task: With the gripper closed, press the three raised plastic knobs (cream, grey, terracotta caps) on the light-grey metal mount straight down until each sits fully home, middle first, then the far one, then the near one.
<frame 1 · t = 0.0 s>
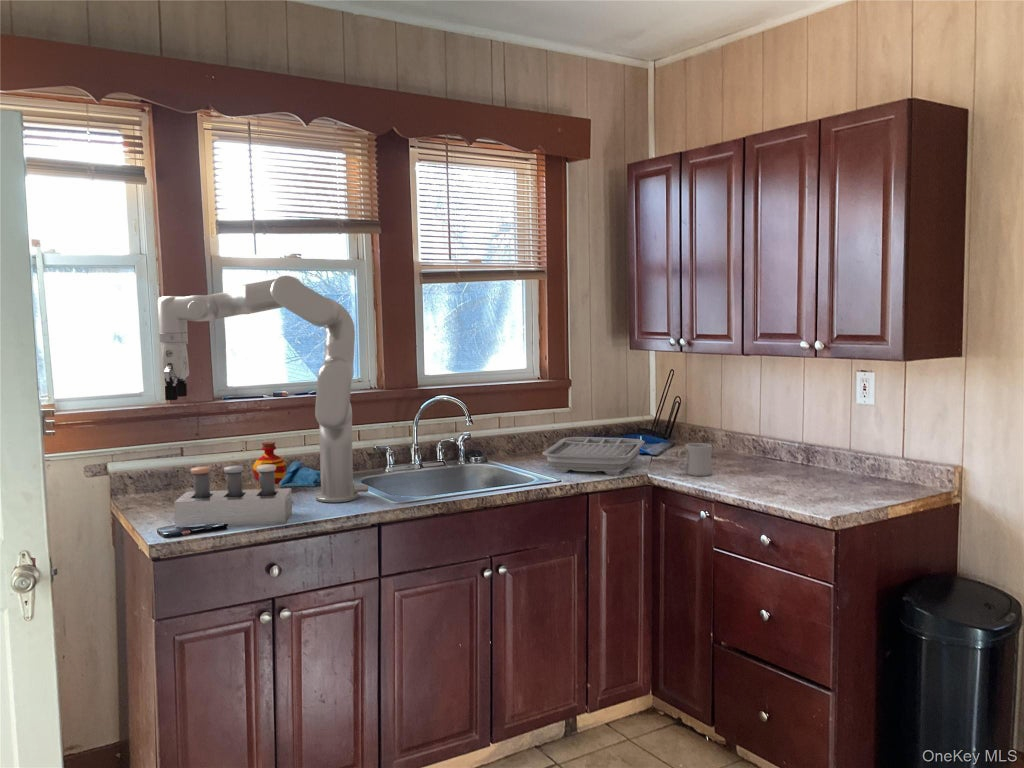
hand: (176, 398, 237), 31 cm above the worktop, fingers open, 9 cm apart
potion bottle: (270, 490, 258), on the worktop
mount: (235, 520, 221), on the worktop
dish rack: (594, 467, 292), on the worktop
knob near: (266, 480, 221), point 11 cm above the worktop, slide at 0.0 cm
knob far: (201, 483, 219), point 11 cm above the worktop, slide at 0.0 cm
mug: (694, 474, 276), on the worktop
bread roll: (267, 504, 240), on the worktop
knob mid: (234, 481, 220), point 11 cm above the worktop, slide at 0.0 cm
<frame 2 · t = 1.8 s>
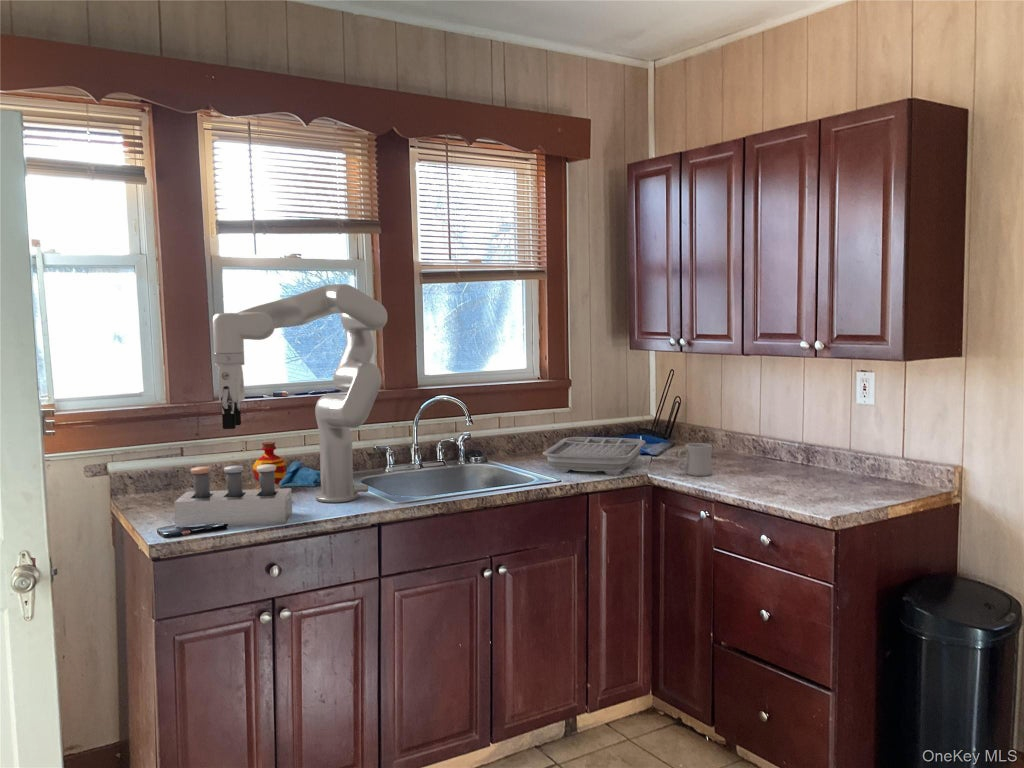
hand: (232, 426, 218), 26 cm above the worktop, fingers open, 6 cm apart
nothing on the worktop moved.
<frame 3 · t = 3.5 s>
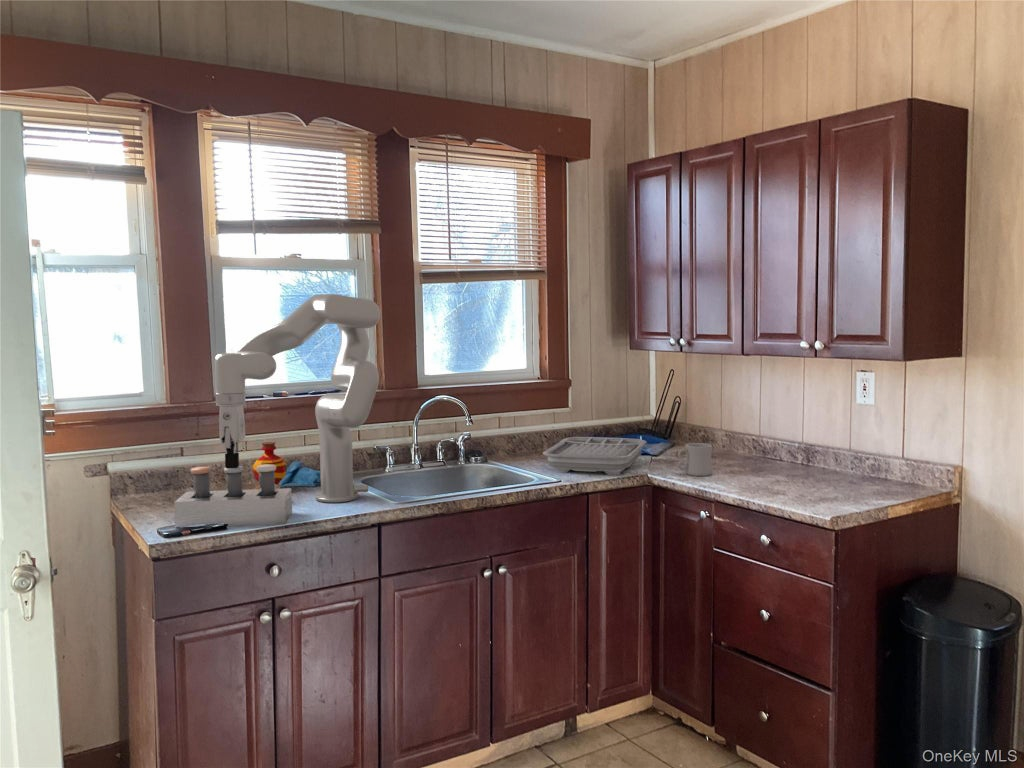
hand: (232, 467, 219), 14 cm above the worktop, fingers closed
knob mid: (234, 482, 220), point 10 cm above the worktop, slide at 0.0 cm, touching gripper
everything else where it was.
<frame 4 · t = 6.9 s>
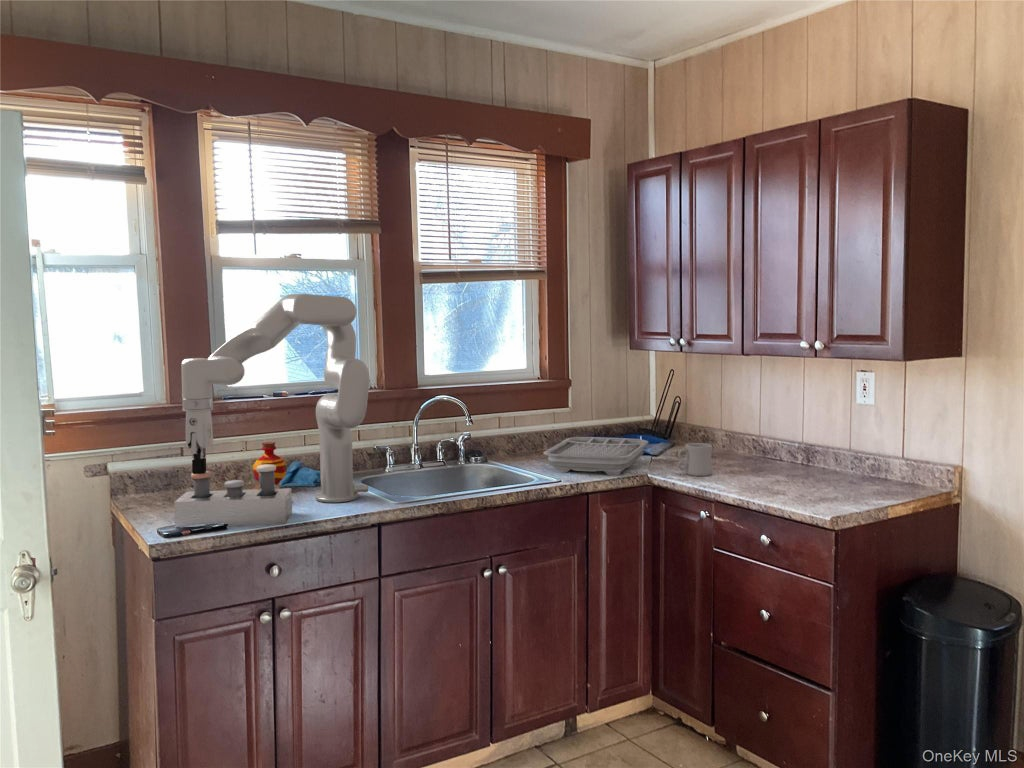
hand: (199, 473, 218), 13 cm above the worktop, fingers closed
knob far: (201, 487, 219), point 9 cm above the worktop, slide at 1.3 cm, touching gripper
knob mid: (234, 496, 220), point 7 cm above the worktop, slide at 4.0 cm
everything else where it was.
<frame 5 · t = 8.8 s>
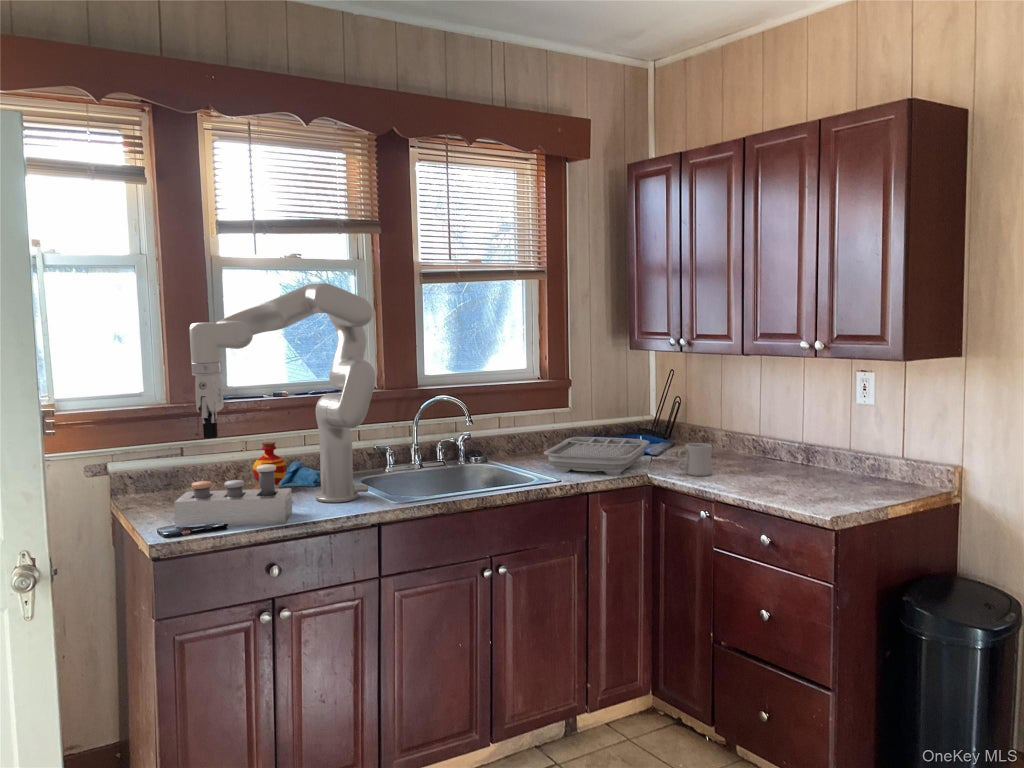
hand: (210, 437, 218), 23 cm above the worktop, fingers closed
knob far: (202, 497, 219), point 7 cm above the worktop, slide at 4.0 cm
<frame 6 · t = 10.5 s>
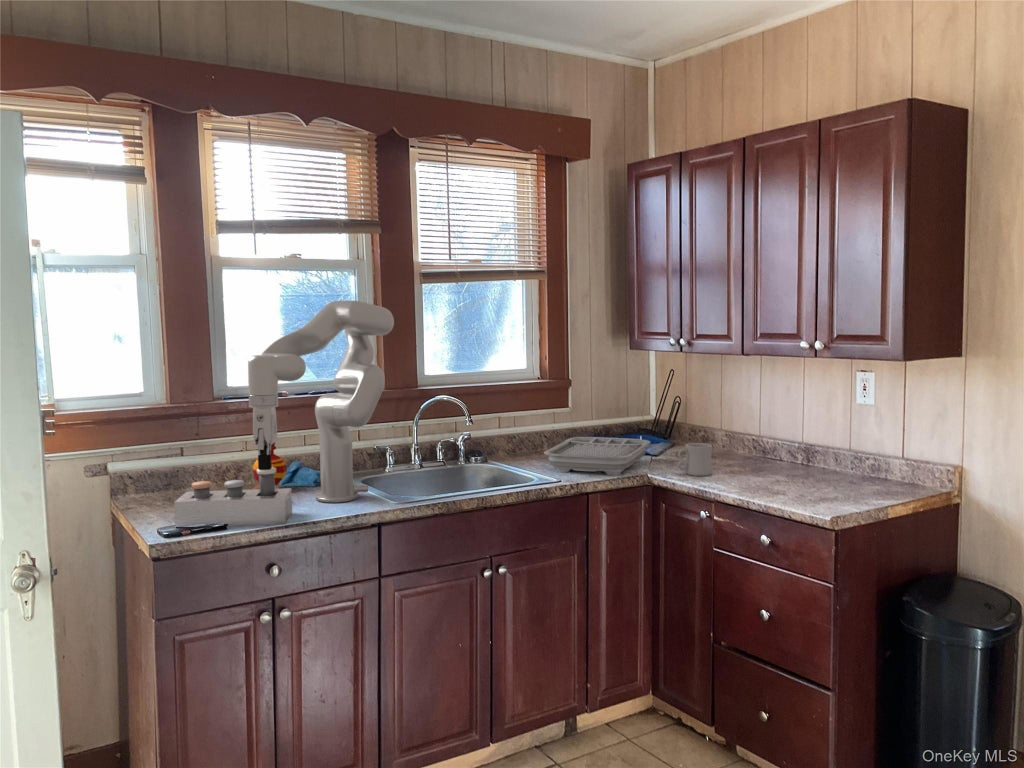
hand: (265, 469, 220), 14 cm above the worktop, fingers closed
knob near: (266, 483, 221), point 10 cm above the worktop, slide at 0.7 cm, touching gripper
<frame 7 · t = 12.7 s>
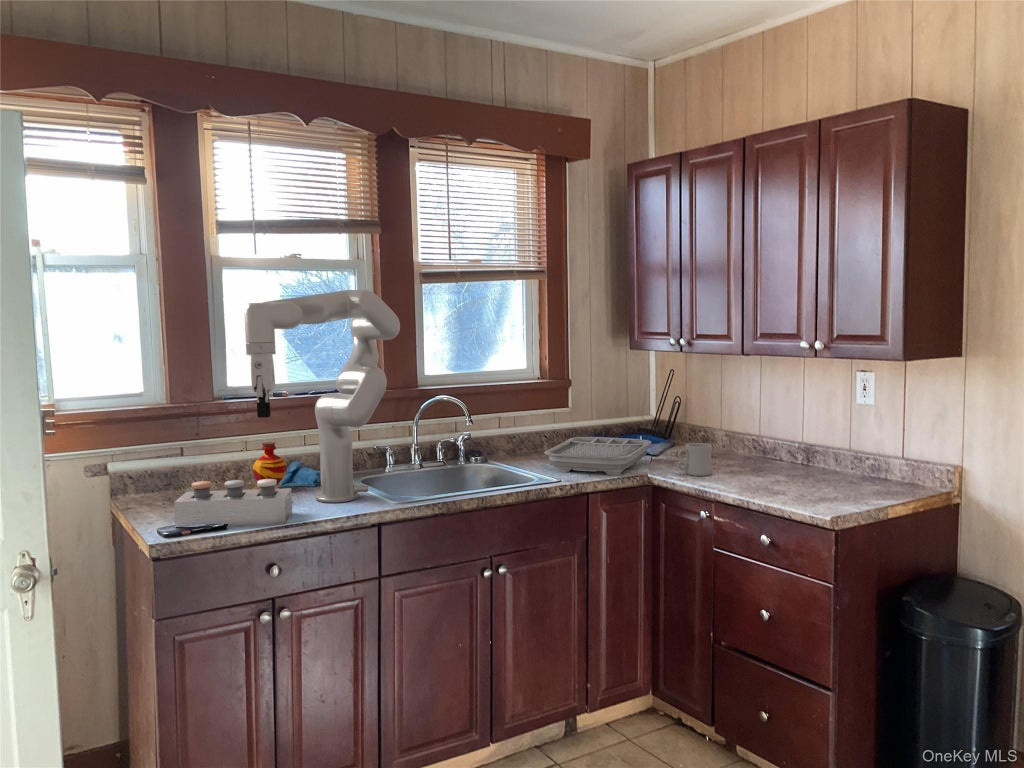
hand: (264, 416, 220), 28 cm above the worktop, fingers closed
knob near: (267, 495, 221), point 6 cm above the worktop, slide at 4.0 cm
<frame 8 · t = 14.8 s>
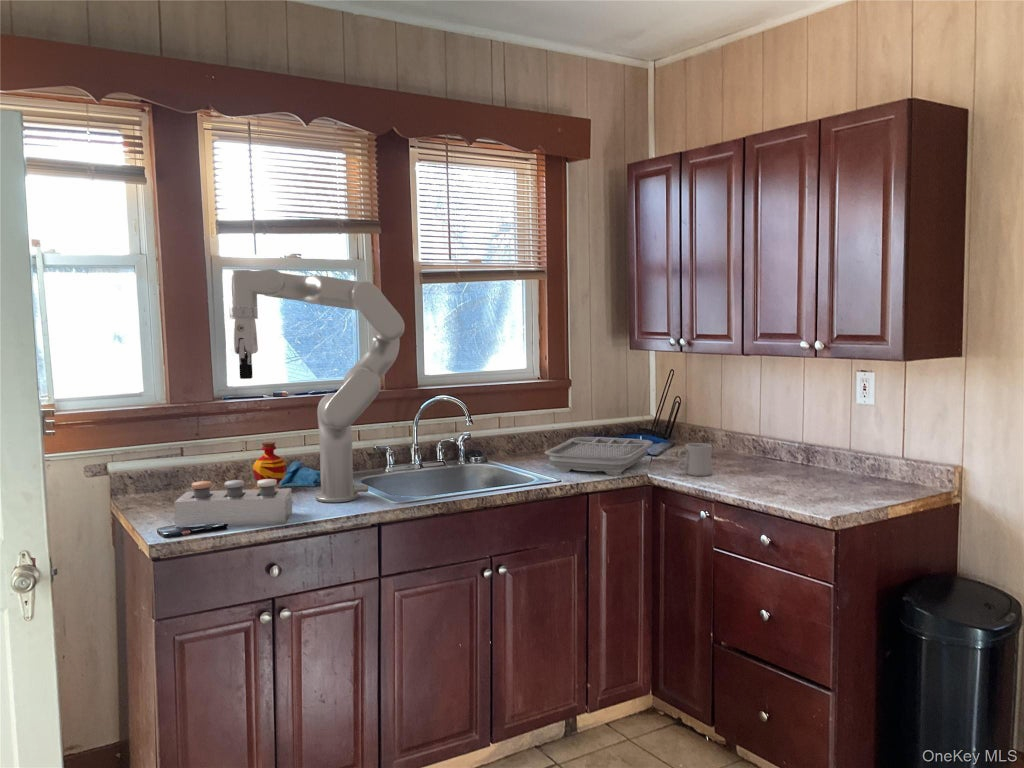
hand: (246, 378, 233), 37 cm above the worktop, fingers closed
at the end: knob mid slide at 4.0 cm; knob far slide at 4.0 cm; knob near slide at 4.0 cm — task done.
